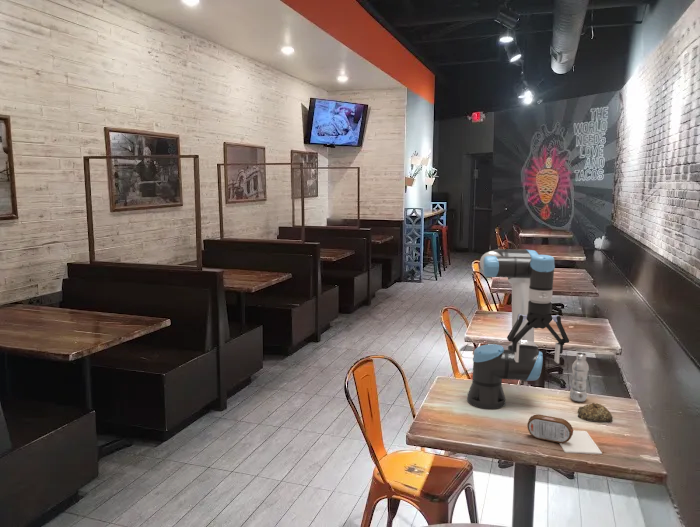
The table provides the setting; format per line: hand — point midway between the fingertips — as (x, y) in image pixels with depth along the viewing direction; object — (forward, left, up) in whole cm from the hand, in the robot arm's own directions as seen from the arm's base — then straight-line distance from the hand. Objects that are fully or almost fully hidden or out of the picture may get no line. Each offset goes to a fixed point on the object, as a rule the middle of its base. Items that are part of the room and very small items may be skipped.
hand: (536, 361), depth 191 cm
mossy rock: (+29, +23, -29) cm, 47 cm away
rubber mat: (+15, 0, -29) cm, 32 cm away
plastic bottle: (+27, +37, -29) cm, 54 cm away
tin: (+6, 0, -29) cm, 29 cm away
